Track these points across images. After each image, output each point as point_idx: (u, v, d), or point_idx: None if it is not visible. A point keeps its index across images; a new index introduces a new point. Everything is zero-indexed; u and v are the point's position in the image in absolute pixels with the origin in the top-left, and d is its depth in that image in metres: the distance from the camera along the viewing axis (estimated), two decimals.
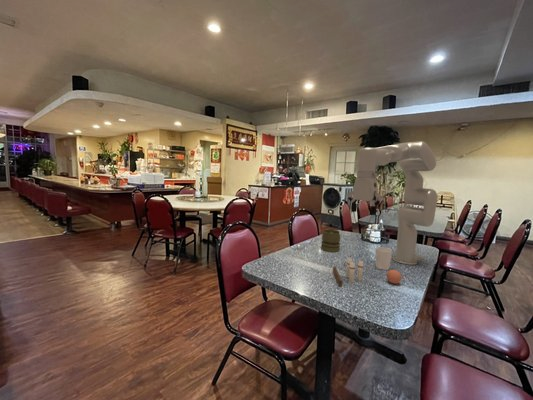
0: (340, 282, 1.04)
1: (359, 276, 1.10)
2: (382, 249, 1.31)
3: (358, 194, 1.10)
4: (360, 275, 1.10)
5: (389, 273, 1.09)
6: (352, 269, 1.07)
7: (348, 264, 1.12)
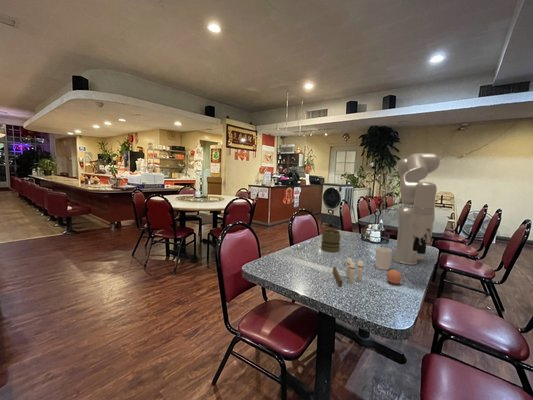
0: (340, 282, 1.04)
1: (359, 276, 1.10)
2: (382, 249, 1.31)
3: None
4: (360, 275, 1.10)
5: (389, 273, 1.09)
6: (352, 269, 1.07)
7: (348, 264, 1.12)
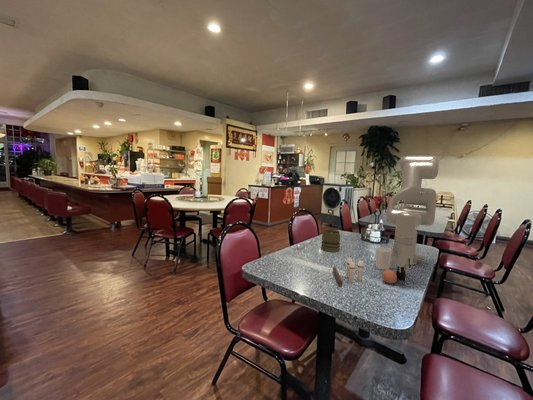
0: (340, 282, 1.04)
1: (359, 276, 1.10)
2: (382, 249, 1.31)
3: None
4: (360, 275, 1.10)
5: (383, 275, 1.09)
6: (352, 269, 1.07)
7: (348, 264, 1.12)
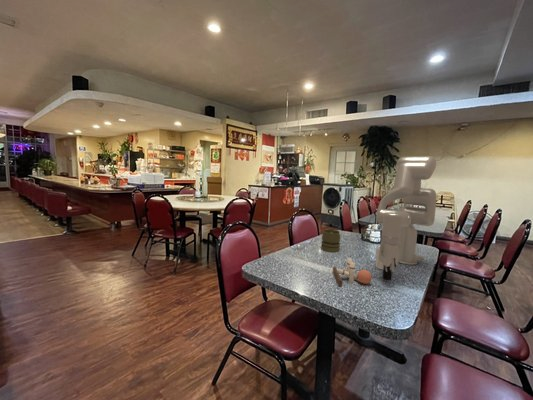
0: (340, 282, 1.04)
1: None
2: None
3: None
4: None
5: None
6: (352, 269, 1.07)
7: (348, 264, 1.12)
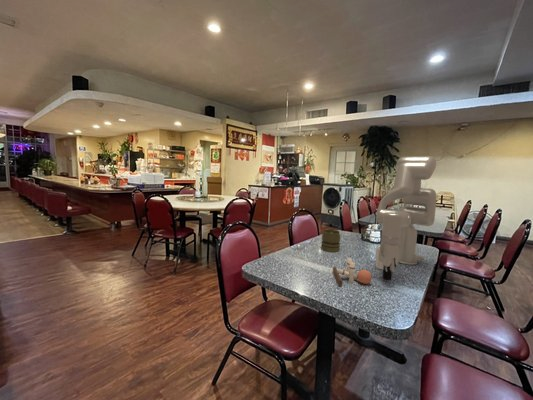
0: (340, 282, 1.04)
1: None
2: None
3: None
4: None
5: None
6: (352, 269, 1.07)
7: (348, 264, 1.12)
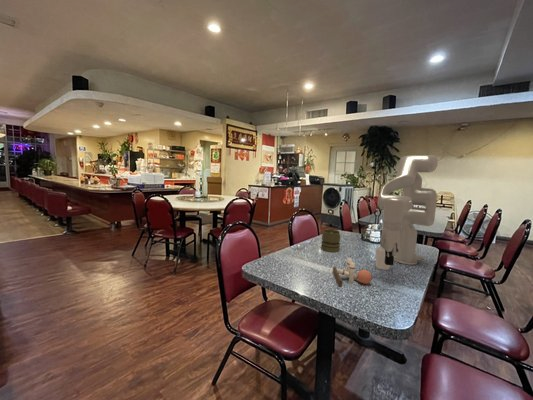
0: (340, 282, 1.04)
1: None
2: (382, 249, 1.31)
3: None
4: None
5: None
6: (352, 269, 1.07)
7: (348, 264, 1.12)
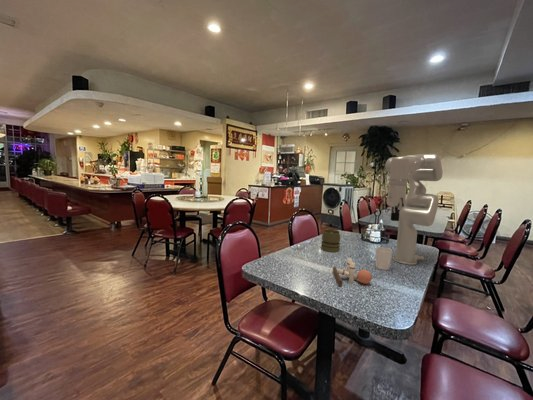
0: (340, 282, 1.04)
1: None
2: (382, 249, 1.31)
3: None
4: None
5: None
6: (352, 269, 1.07)
7: (348, 264, 1.12)
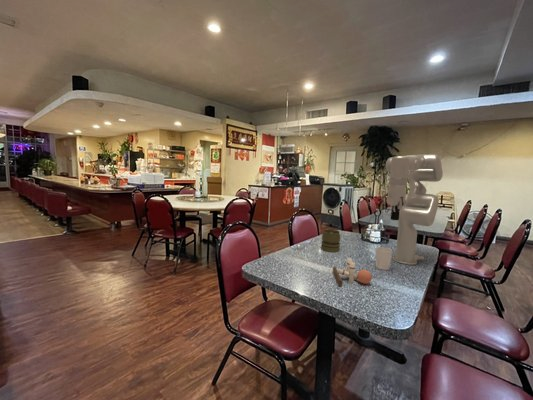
0: (340, 282, 1.04)
1: None
2: (382, 249, 1.31)
3: None
4: None
5: None
6: (352, 269, 1.07)
7: (348, 264, 1.12)
